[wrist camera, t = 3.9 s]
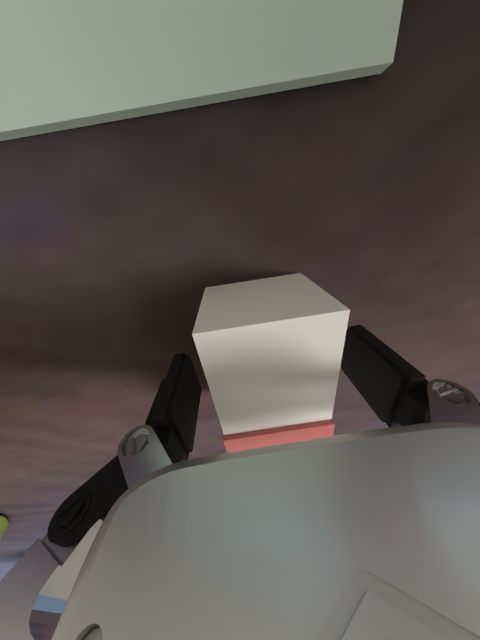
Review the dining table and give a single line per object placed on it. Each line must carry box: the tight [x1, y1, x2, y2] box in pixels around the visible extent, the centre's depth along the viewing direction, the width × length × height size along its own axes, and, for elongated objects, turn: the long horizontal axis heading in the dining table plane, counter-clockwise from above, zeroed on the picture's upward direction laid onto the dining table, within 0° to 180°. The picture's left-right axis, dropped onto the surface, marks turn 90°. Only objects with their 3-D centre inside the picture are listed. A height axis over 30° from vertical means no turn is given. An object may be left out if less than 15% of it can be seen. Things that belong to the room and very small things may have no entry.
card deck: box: [192, 273, 350, 453], centre depth 11 cm, size 6×8×5 cm, turn 8°
